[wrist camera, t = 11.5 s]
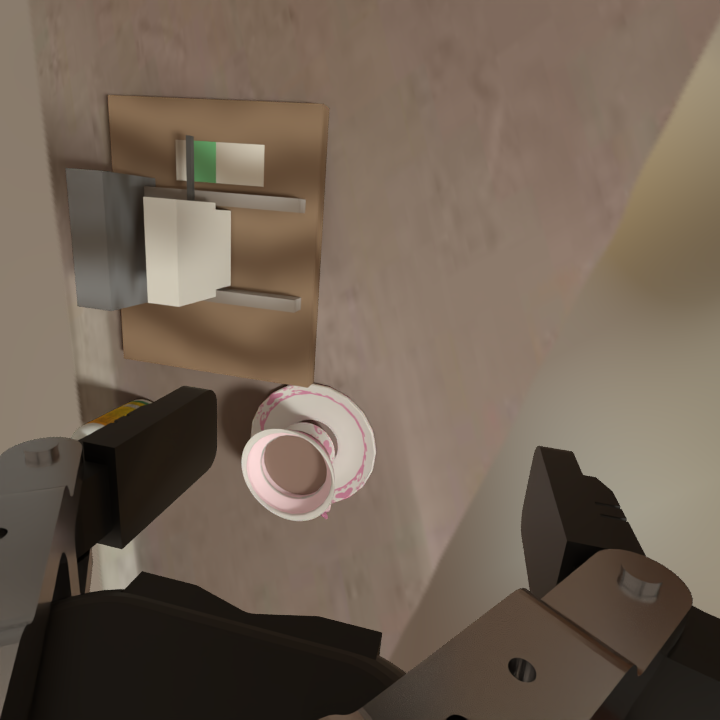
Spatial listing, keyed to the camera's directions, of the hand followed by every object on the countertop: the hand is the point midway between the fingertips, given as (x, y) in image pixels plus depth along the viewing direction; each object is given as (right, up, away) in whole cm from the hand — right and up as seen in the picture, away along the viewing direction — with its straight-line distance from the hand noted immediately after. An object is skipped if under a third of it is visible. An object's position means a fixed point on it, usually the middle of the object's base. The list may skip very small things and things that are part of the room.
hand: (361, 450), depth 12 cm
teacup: (-4, -5, +33) cm, 34 cm away
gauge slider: (-12, +14, +27) cm, 33 cm away
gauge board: (-12, +12, +29) cm, 34 cm away
